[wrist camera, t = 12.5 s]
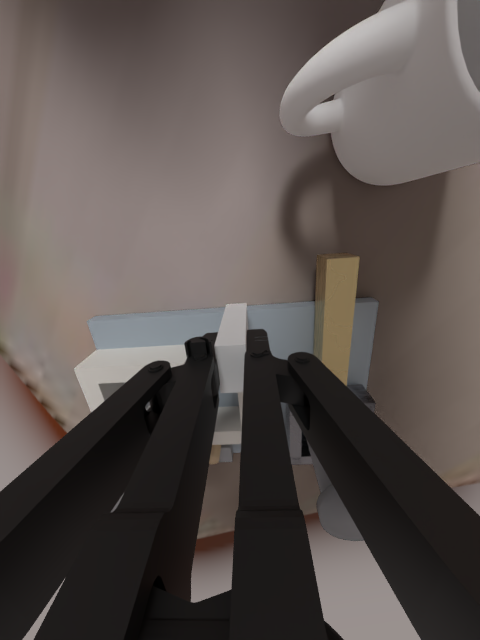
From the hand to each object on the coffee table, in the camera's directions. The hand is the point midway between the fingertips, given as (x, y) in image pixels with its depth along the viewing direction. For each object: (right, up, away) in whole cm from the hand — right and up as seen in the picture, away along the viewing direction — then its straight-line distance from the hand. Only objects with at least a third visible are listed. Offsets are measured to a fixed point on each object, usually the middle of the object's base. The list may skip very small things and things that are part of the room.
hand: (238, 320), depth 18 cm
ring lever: (+7, -4, +3) cm, 9 cm away
